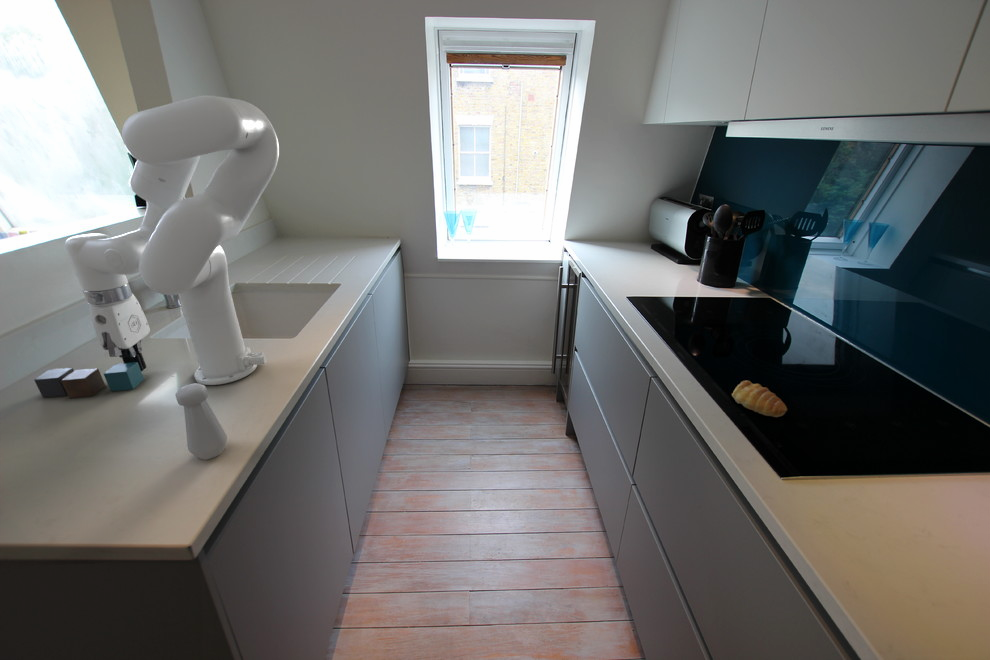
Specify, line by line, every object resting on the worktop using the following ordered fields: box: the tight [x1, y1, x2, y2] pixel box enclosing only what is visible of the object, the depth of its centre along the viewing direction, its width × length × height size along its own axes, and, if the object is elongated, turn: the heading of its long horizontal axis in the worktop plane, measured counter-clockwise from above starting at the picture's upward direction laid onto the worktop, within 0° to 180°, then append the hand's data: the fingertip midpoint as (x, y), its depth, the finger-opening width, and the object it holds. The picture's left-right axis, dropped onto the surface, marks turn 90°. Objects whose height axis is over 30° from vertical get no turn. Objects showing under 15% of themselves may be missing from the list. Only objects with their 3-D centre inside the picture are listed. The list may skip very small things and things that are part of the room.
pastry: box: [731, 380, 788, 418], centre depth 88 cm, size 9×7×4 cm
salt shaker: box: [175, 382, 228, 461], centre depth 74 cm, size 6×6×13 cm
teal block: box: [103, 362, 145, 392], centre depth 97 cm, size 4×4×4 cm
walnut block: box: [61, 367, 106, 399], centre depth 94 cm, size 4×4×4 cm
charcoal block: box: [34, 367, 75, 399], centre depth 94 cm, size 4×4×4 cm
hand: (137, 370), depth 101 cm, fingers closed
